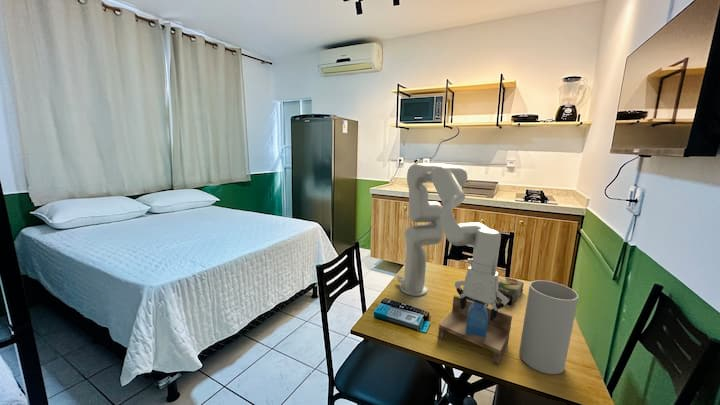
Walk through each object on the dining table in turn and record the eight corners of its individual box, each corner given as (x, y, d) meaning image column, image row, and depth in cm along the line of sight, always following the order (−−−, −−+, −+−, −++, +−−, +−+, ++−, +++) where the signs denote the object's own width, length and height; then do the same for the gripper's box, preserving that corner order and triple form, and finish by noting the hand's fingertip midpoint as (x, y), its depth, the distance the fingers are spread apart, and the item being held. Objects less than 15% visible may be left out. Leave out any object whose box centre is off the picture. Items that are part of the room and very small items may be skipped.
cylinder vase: (520, 367, 90) (532, 294, 86) (517, 343, 102) (527, 277, 97) (568, 381, 86) (583, 304, 81) (559, 354, 97) (572, 285, 92)
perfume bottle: (485, 337, 95) (490, 304, 93) (465, 332, 98) (469, 300, 95) (485, 327, 101) (489, 295, 99) (466, 322, 103) (470, 291, 101)
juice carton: (501, 285, 146) (503, 273, 145) (523, 292, 139) (525, 280, 138) (488, 300, 131) (489, 288, 130) (511, 309, 125) (513, 296, 123)
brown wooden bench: (437, 338, 103) (440, 308, 101) (451, 322, 113) (454, 294, 111) (497, 366, 91) (502, 333, 88) (507, 345, 101) (512, 315, 98)
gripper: (453, 262, 97) (448, 307, 101) (510, 278, 87) (501, 329, 90) (461, 255, 103) (456, 299, 107) (515, 270, 92) (507, 318, 96)
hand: (477, 313), depth 98 cm, fingers open, 9 cm apart
